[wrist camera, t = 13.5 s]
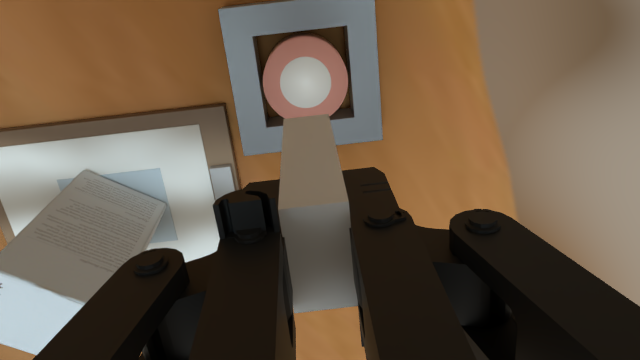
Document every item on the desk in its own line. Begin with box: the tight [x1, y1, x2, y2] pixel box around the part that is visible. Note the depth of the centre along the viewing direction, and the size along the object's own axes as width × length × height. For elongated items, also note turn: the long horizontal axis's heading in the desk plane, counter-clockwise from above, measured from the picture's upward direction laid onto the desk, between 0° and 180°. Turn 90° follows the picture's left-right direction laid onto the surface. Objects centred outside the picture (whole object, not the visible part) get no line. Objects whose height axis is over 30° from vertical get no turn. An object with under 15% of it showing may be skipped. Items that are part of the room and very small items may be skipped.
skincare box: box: [0, 170, 166, 355], centre depth 29 cm, size 6×4×12 cm
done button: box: [263, 32, 348, 119], centre depth 30 cm, size 5×5×3 cm
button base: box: [218, 0, 383, 156], centre depth 31 cm, size 9×9×2 cm
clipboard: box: [0, 103, 241, 262], centre depth 35 cm, size 13×17×1 cm
